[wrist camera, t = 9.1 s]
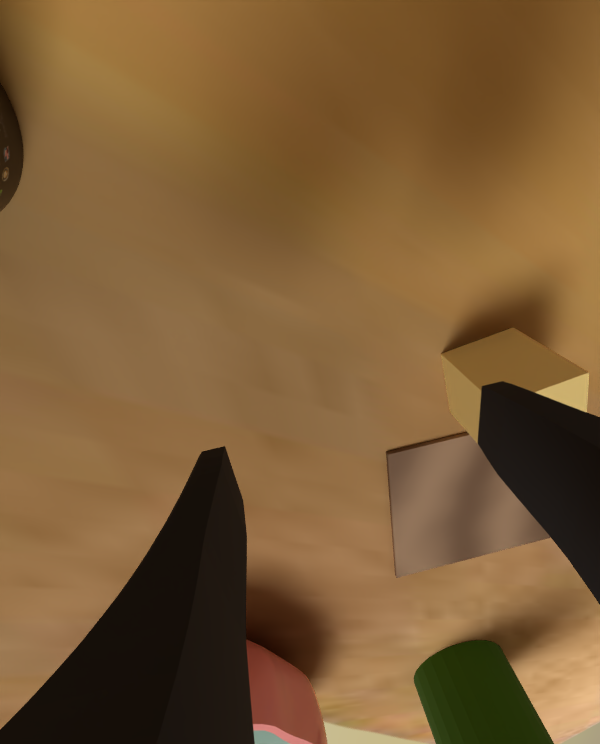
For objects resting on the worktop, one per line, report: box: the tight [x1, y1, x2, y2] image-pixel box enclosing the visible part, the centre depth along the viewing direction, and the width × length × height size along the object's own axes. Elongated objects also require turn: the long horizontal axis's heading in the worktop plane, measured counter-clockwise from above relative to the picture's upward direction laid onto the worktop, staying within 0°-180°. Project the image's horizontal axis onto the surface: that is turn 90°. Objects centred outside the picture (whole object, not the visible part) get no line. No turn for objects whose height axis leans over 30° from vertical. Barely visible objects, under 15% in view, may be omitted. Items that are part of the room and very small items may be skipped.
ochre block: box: [441, 327, 589, 444], centre depth 20 cm, size 4×4×6 cm
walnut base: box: [386, 432, 550, 578], centre depth 27 cm, size 12×12×1 cm
